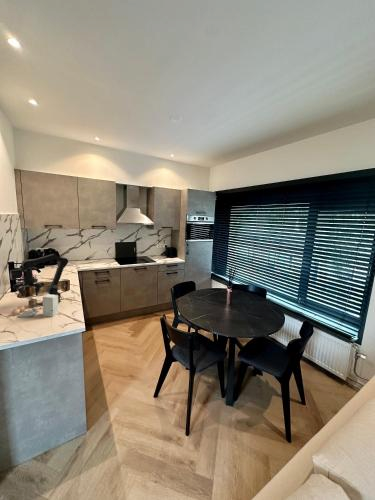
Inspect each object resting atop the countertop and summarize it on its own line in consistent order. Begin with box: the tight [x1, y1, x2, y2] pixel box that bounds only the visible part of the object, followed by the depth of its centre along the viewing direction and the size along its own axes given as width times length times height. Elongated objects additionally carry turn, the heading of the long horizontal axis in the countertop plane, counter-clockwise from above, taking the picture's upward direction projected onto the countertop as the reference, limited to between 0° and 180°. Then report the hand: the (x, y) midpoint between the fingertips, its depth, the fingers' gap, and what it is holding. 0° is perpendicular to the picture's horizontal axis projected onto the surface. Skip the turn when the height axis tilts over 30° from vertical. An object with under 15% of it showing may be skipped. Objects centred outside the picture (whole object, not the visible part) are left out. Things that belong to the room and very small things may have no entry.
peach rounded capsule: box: [17, 305, 25, 314], centre depth 158 cm, size 4×4×4 cm
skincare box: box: [42, 293, 59, 318], centre depth 154 cm, size 8×6×15 cm
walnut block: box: [27, 298, 38, 309], centre depth 166 cm, size 4×4×6 cm
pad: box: [16, 310, 39, 319], centre depth 154 cm, size 9×9×1 cm
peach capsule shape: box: [12, 307, 21, 317], centre depth 153 cm, size 4×4×4 cm
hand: (30, 295), depth 162 cm, fingers open, 9 cm apart
